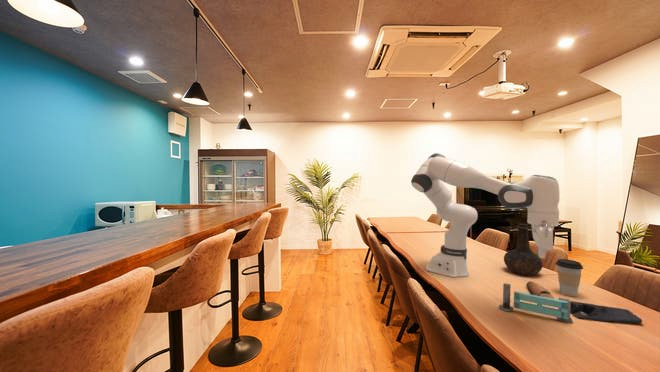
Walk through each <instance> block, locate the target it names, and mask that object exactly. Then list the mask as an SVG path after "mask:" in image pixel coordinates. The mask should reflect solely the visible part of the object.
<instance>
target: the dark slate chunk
mask: <svg viewBox="0 0 660 372" xmlns="http://www.w3.org/2000/svg"><path fill="white" fill-rule="evenodd" d="M570 302H571V307H570V315H572V316H573V317H576V318H577V319H580V320H590V321H599V322H612V323H621V324H623V323H624V324H641V323H643V319H642V318H640V317H639V316H638V315H636V314H634V313H633V311H631V310H630V309H625V308H620V307H612V306H607V305H598V304H593V303H587V302H580V301H574V300H570Z"/></svg>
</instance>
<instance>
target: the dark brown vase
mask: <svg viewBox="0 0 660 372" xmlns="http://www.w3.org/2000/svg"><path fill="white" fill-rule="evenodd" d="M517 224H518V225H516V228H518V229H517V231H518V232H517V240H516V241H517V242H516V246H515V248H514V249H512V250H509V251H507V252H506V253H505V254H504V256H503V262H504V265H505V266H506V267H507V268H508V270H510V271H511V272H513V273H515V274H519V275H522V276H534V275H537V274H539V273H540V272H541V271H542V269H543V267H544V263H543V262H544V261H543V260H542V258H539V256H538V253H537V254H536V253H534V251H532V249H531V245H530V239H529V223H523V222H522V223H521V222H520V223H517Z"/></svg>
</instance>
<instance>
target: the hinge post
mask: <svg viewBox="0 0 660 372" xmlns="http://www.w3.org/2000/svg"><path fill="white" fill-rule="evenodd" d="M502 285H503V286H502V287H503V288H502V304H499V305H498V308H499V309H500V310H501V311H504V312H506V313H507V312H508V313H513V312H515V308H514V307H512V306H511V286H512V285H511V284H510V283H506V282H505V283H503V284H502Z"/></svg>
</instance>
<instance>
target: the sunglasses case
mask: <svg viewBox="0 0 660 372" xmlns="http://www.w3.org/2000/svg"><path fill="white" fill-rule="evenodd" d="M525 286H526V288H527V289H528V290H529V292H530V293H531V295H536V296H542V297H547V298H552V299H556V298H555V297H554V295H552V294H551V292H550V290H548V289H546V288H545V287H544V286H542V285H540V284H538V283H536V282H533V281H531V280H529V281H527V283H526V285H525Z"/></svg>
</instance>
